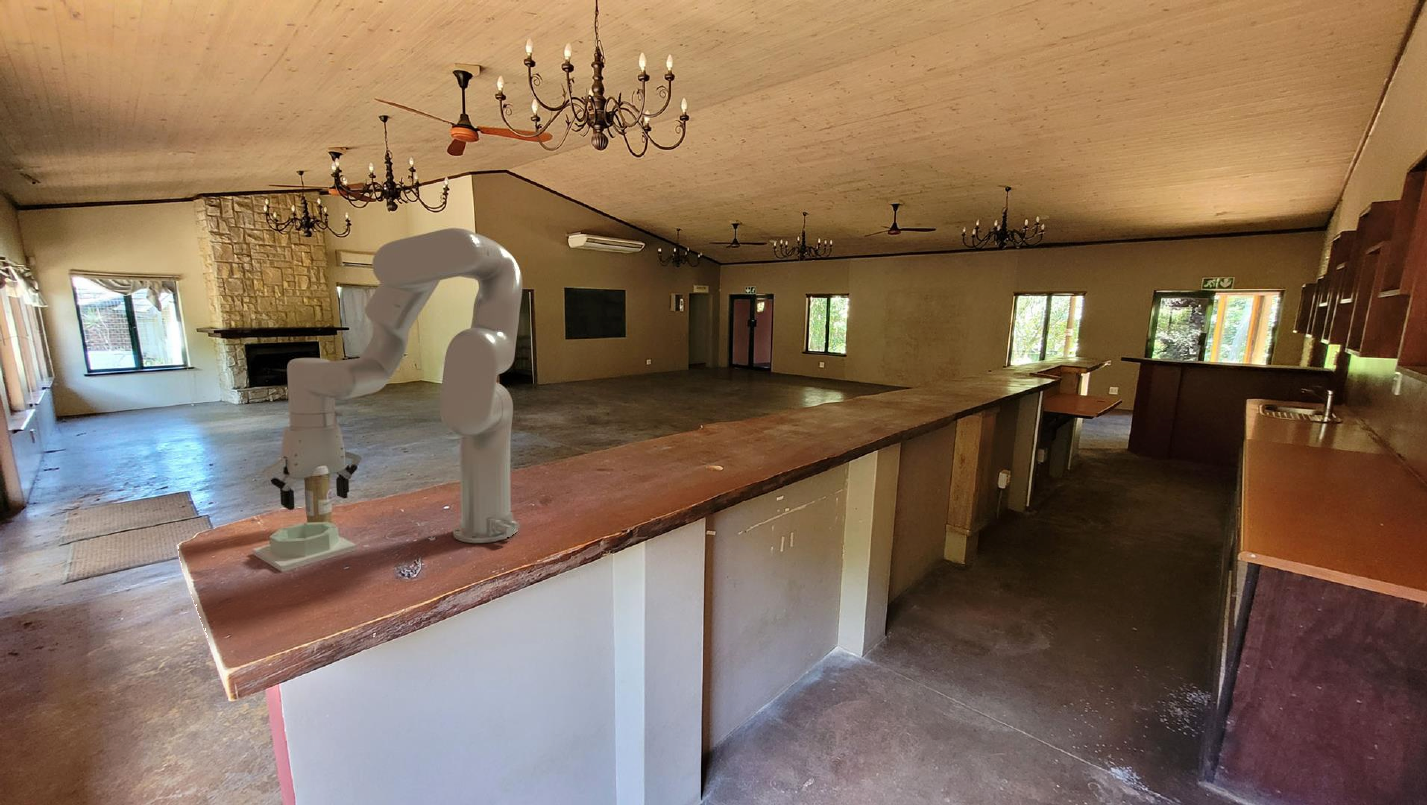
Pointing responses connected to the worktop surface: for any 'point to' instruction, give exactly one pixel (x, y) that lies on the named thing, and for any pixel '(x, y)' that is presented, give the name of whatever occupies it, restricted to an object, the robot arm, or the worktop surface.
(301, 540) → the bottle collar
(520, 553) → the worktop surface
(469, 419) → the robot arm
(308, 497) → the sprinkles bottle
